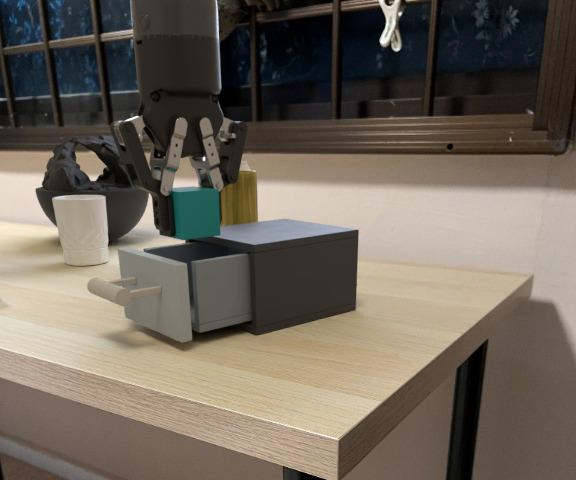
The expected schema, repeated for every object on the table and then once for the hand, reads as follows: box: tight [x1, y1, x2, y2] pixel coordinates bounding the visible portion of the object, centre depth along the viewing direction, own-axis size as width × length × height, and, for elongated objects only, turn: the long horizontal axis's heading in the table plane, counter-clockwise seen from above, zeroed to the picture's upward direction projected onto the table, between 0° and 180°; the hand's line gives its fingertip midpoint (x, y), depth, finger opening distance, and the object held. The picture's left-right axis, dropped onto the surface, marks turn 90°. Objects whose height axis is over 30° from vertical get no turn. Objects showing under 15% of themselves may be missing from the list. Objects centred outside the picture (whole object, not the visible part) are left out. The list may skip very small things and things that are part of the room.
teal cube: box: [159, 185, 220, 241], centre depth 60 cm, size 4×4×4 cm
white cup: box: [52, 195, 110, 267], centre depth 96 cm, size 8×8×10 cm
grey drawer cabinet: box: [184, 218, 360, 336], centre depth 69 cm, size 15×13×9 cm
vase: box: [220, 169, 259, 226], centre depth 85 cm, size 6×6×14 cm
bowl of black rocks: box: [34, 134, 150, 242], centre depth 112 cm, size 20×20×19 cm
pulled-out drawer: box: [86, 241, 252, 344], centre depth 62 cm, size 18×11×7 cm, turn 131°
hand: (189, 231), depth 60 cm, fingers closed on teal cube, 4 cm apart
